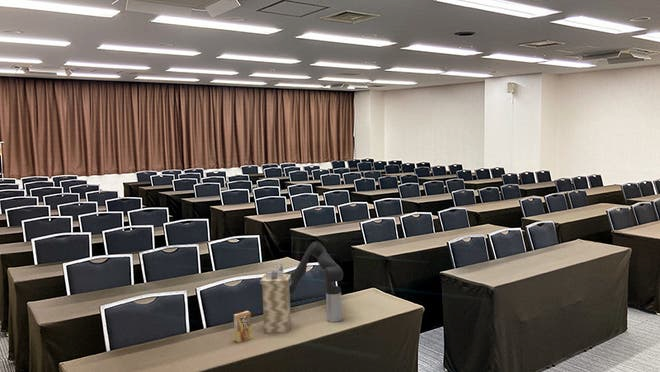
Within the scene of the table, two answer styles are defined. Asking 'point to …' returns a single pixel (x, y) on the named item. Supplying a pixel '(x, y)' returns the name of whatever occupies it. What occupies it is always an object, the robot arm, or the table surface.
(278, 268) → the toggle bar
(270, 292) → the pedestal
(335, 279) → the robot arm
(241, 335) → the candy box
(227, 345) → the table surface
